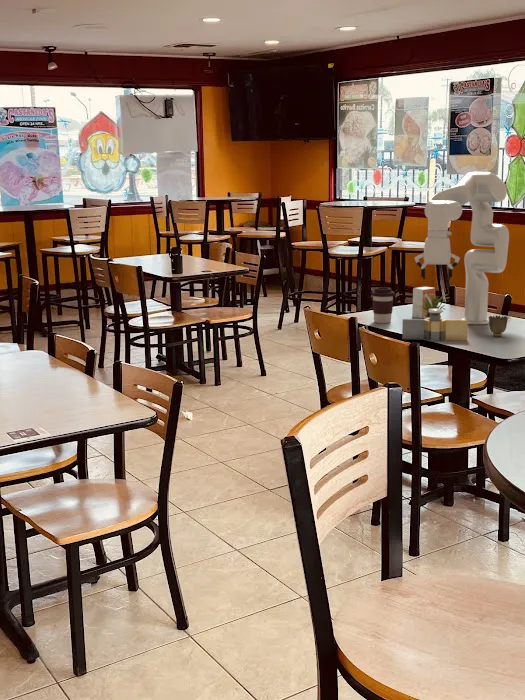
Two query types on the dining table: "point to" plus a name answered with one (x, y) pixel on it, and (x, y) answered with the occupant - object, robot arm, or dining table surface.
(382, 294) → the coffee cup
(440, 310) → the hinge pin
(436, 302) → the house plant
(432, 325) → the hinge
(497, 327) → the cup
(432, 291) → the small box
